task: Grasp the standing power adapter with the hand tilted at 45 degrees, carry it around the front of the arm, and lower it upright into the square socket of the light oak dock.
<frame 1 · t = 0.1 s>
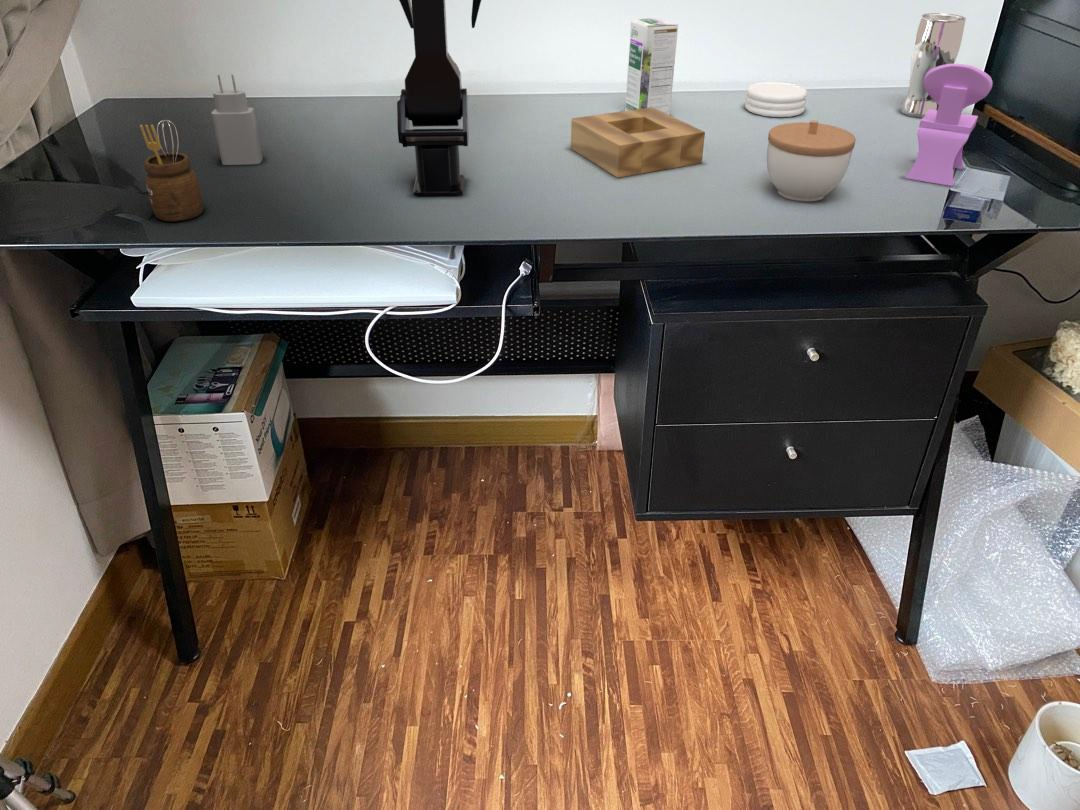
hand: (442, 27, 130), 15 cm above the table, tool pointing down, fingers open, 9 cm apart
utensil holder: (179, 215, 107), on the table
dock: (634, 155, 126), on the table
power adapter: (242, 162, 124), on the table
silver tumbler: (919, 114, 144), on the table
trinket box: (801, 194, 113), on the table
chair: (934, 174, 120), on the table
syrup box: (647, 115, 143), on the table
white layered disc: (773, 110, 146), on the table
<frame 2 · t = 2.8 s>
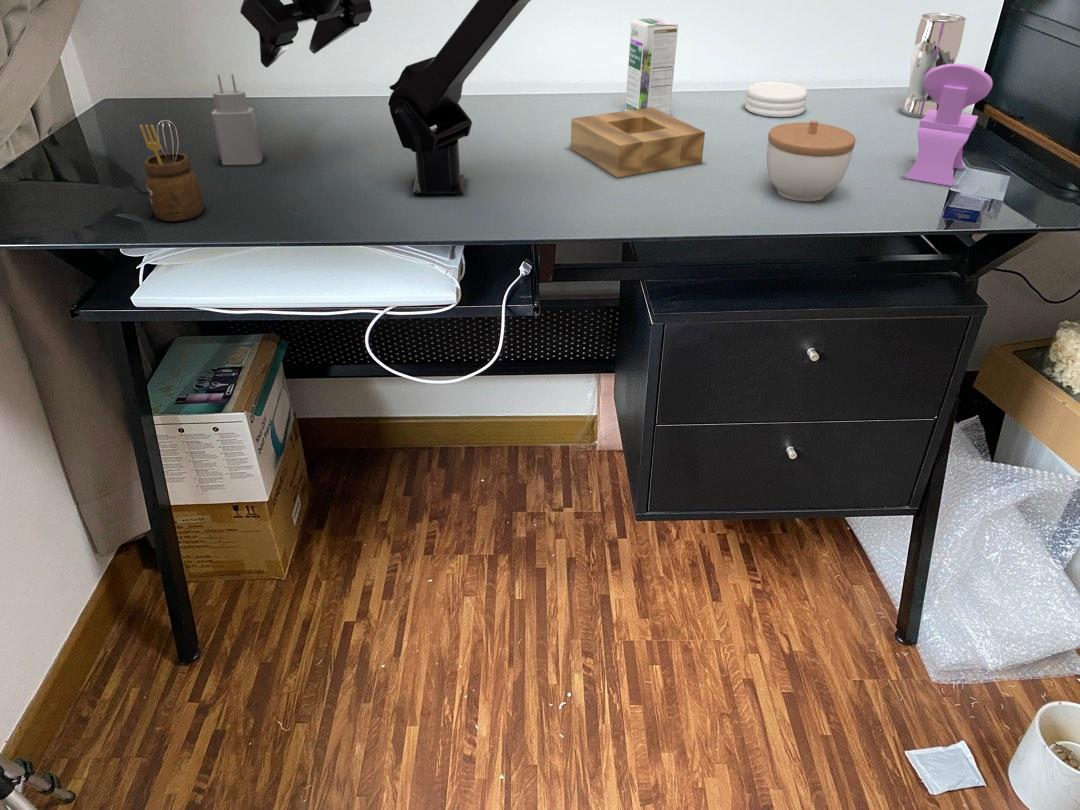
hand: (288, 57, 117), 14 cm above the table, tool tilted 40°, fingers open, 9 cm apart
nothing on the table moved.
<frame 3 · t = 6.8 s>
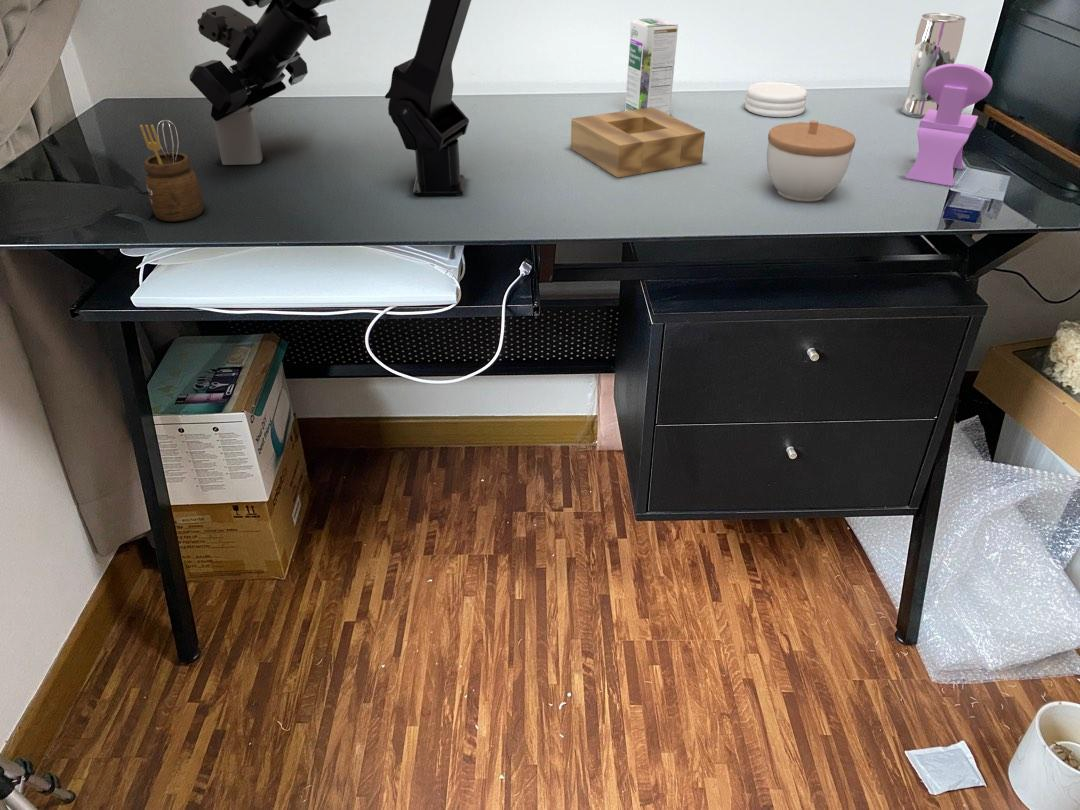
hand: (224, 113, 120), 7 cm above the table, tool tilted 45°, fingers closed on power adapter, 4 cm apart
power adapter: (242, 162, 123), on the table, touching gripper
everything else where it was.
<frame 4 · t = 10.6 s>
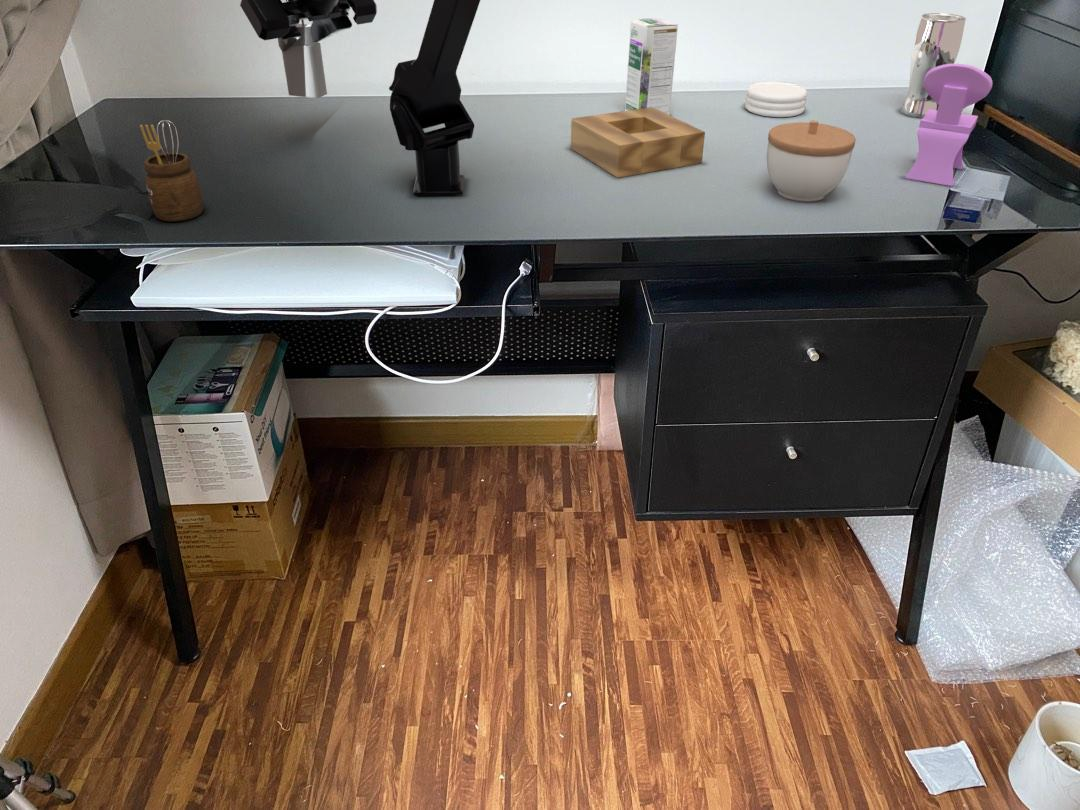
hand: (295, 46, 125), 13 cm above the table, tool tilted 45°, fingers closed on power adapter, 4 cm apart
power adapter: (308, 95, 128), point 6 cm above the table, touching gripper
everything else where it was.
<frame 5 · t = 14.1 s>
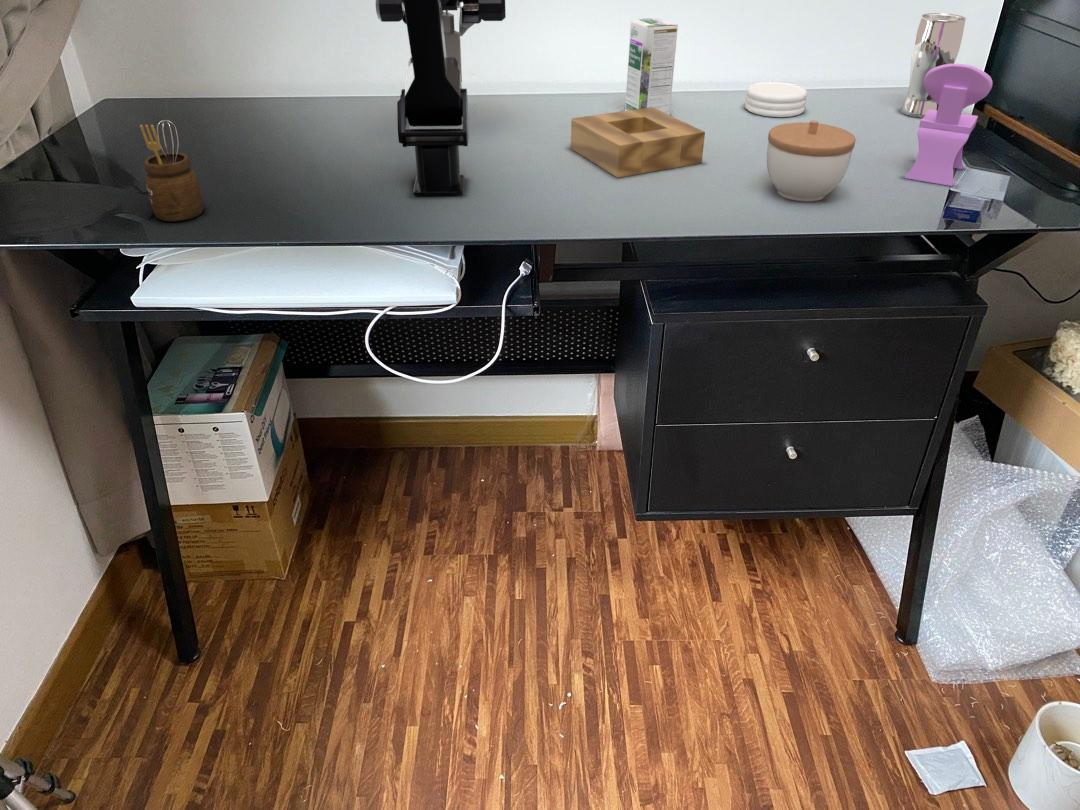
hand: (445, 33, 133), 13 cm above the table, tool tilted 45°, fingers closed on power adapter, 4 cm apart
power adapter: (448, 81, 135), point 7 cm above the table, touching gripper
everything else where it was.
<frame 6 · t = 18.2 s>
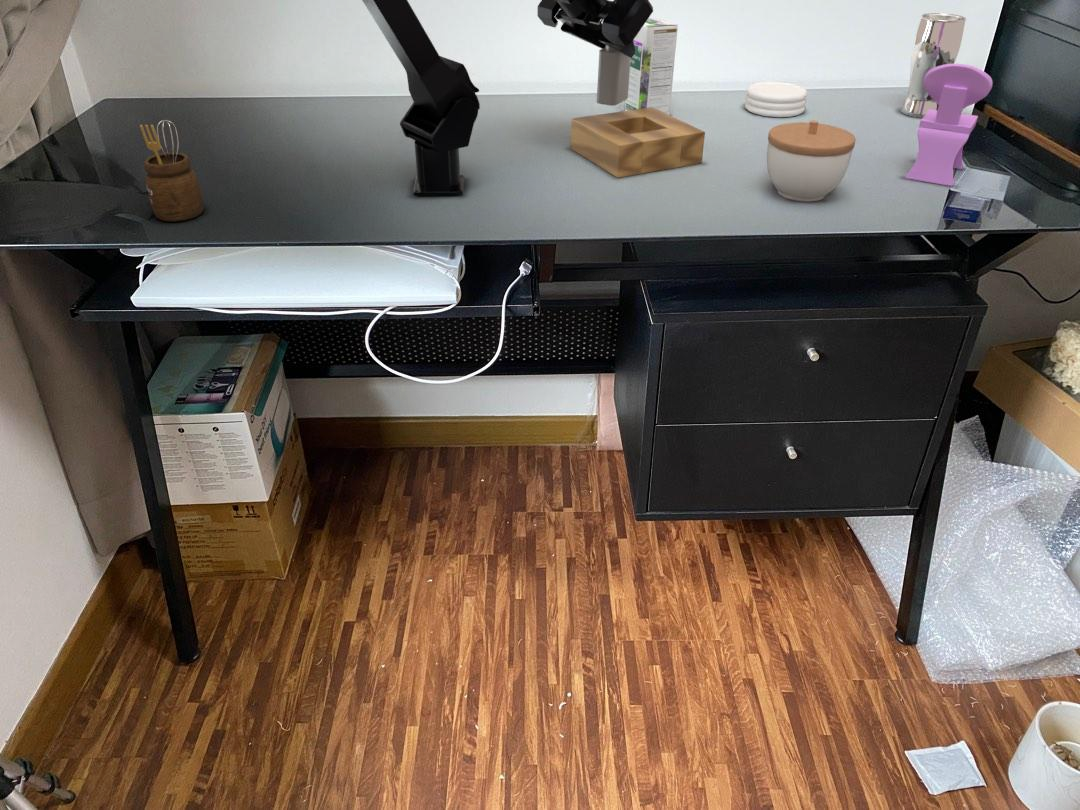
hand: (621, 51, 123), 13 cm above the table, tool tilted 45°, fingers closed on power adapter, 4 cm apart
power adapter: (612, 101, 126), point 6 cm above the table, touching gripper
everything else where it was.
when the fingers open (7 cm above the table, at t = 21.6 s): power adapter stays where it is, resting in dock.
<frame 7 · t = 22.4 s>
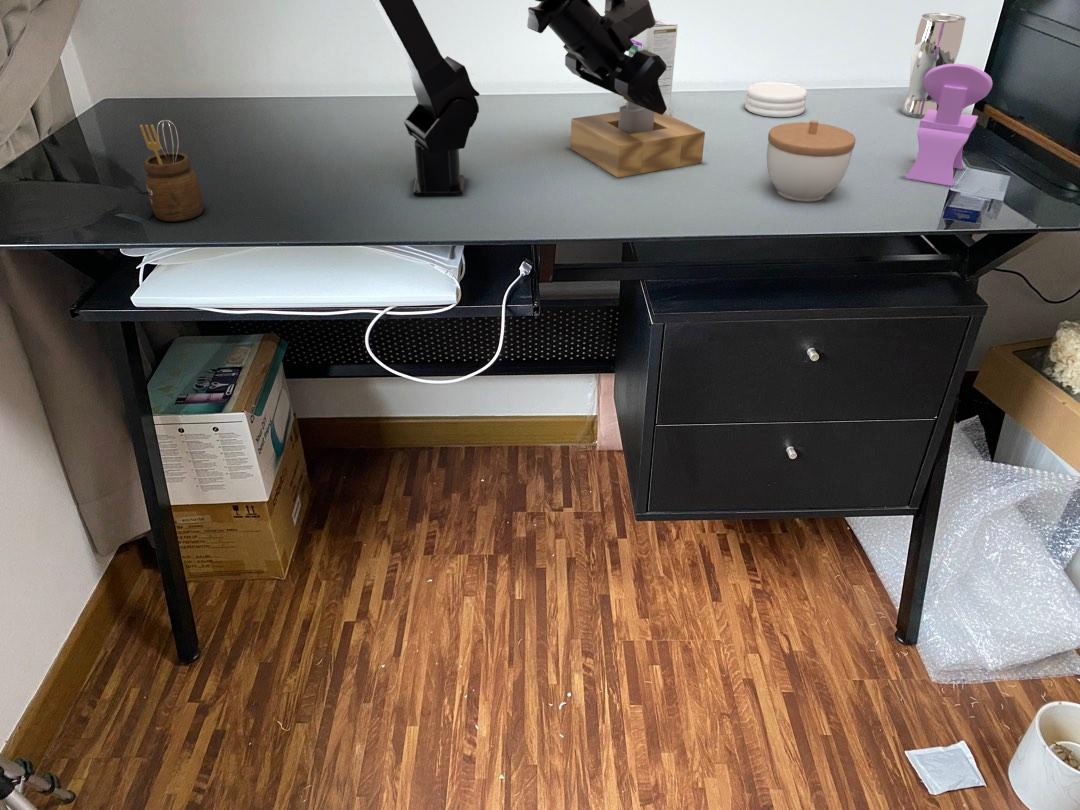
hand: (646, 103, 122), 7 cm above the table, tool tilted 45°, fingers open, 9 cm apart
power adapter: (634, 157, 126), resting in dock
everything else where it was.
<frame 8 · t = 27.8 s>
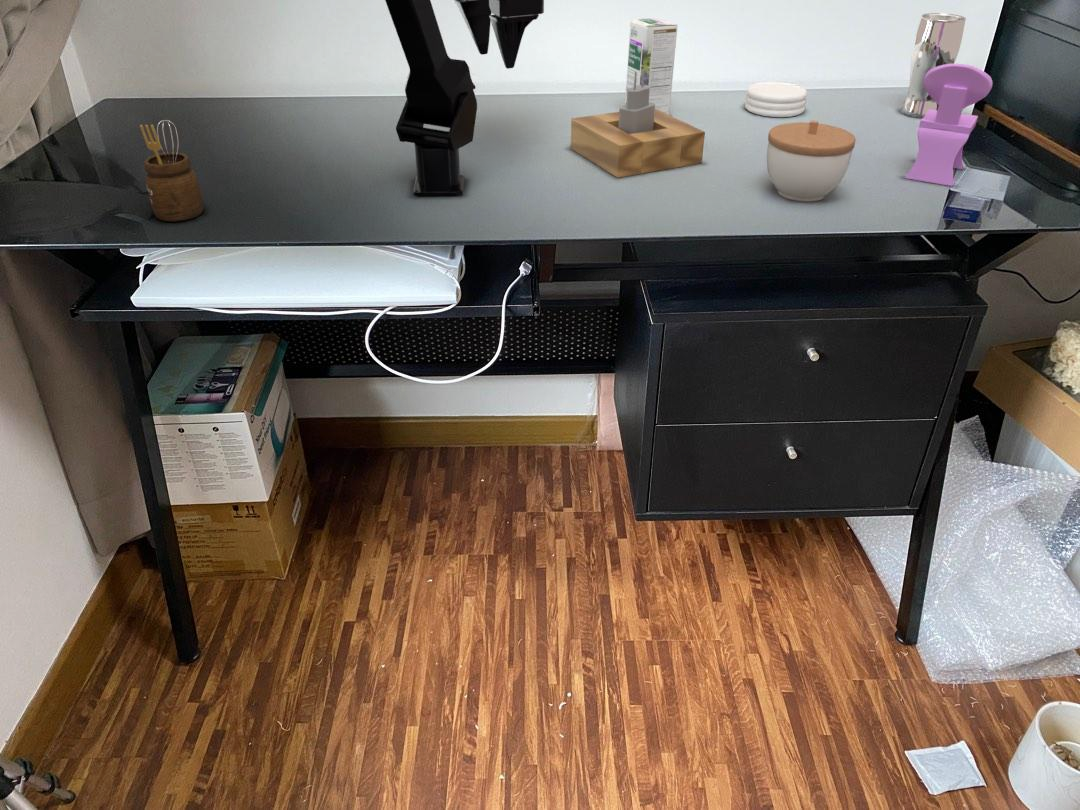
hand: (496, 60, 119), 13 cm above the table, tool pointing down, fingers open, 9 cm apart
nothing on the table moved.
at the end: power adapter 0.1 cm off-centre in the dock, point 0.0 cm above the dock's base; power adapter tilted 0°; the gripper is holding nothing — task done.
